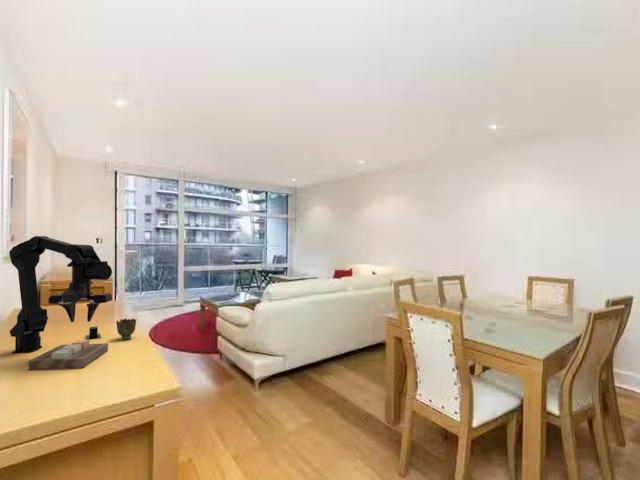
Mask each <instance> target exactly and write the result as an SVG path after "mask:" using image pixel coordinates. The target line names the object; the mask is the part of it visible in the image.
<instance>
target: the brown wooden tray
mask: <svg viewBox="0 0 640 480" xmlns="http://www.w3.org/2000/svg"><path fill="white" fill-rule="evenodd" d="M67 345H71V343H70V344H60V345H58V346H56V347H54V348H52V349H50V350H48V351H46V352H44V353H42V354H40V355H38V356H36V357H34V358H31V359H29V360H28V371H38V370H39V371H40V370H41V371H42V370H43V371H45V370H65V369H66V370H67V369H68V370H69V369H84V368H85V367H87V366H88V365H90V364H92V362H94V361H95V360H97V359H99V358H100V357H102V356H103V355H105V354H107V352H108V350H109V344H108V342H106V343H104V342H103V343H102V342H101V343H89V346H87V347H85V348H81V350H80V351H78V352H76V353H72V355H71V356H69V357H68V358H66V359H51V355H52V353H54V352H55V351H57V350H62V348H63V347H65V346H67Z"/></svg>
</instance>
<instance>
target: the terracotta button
mask: <svg viewBox="0 0 640 480" xmlns="http://www.w3.org/2000/svg"><path fill="white" fill-rule="evenodd" d="M70 344H71V345H74V344H81V348H85V347H87V346H89V344H90V340H86V339H76V340H74V341H73V342H71V343H70Z"/></svg>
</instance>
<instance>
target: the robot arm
mask: <svg viewBox="0 0 640 480" xmlns="http://www.w3.org/2000/svg"><path fill="white" fill-rule="evenodd" d="M46 250H47V251H52V252H55V253H59V254H63V255H64V256H65V258H66V259H69V260H70V262H68V263H67V265H66V267H70V268H71V282H69V285H68V288H66V289H65V290H64V291H63V292H62V293H56V294H52V295H50V296H49V297H48V299H47V300H48V302H47V303H48V304H49V305H51V304H53V305H54V304H55V305H57V304H58V306H59V307H62V308H63V309H64V310H65V311H66V313H67V315H68V318H69V321H70V322H71V323H74V322H75V319H76V308H77V307H76V305H77V303H78V302H85V301H86V302H88V303H86V307H87V317H86V318H87V322H88V323H90V322H91V320H92V318H93V317H94V314H95V313H96V310H97V308H98V307H99V306H100V304H103V303H104V304H105V303H106V304H107V303H109V302H111V301H113V295H112V294H111V292H108V293H107V292H102V293H101V292H100V293H97V294H94V295H93V291H92V284H93V283H94V282H93V281H94V280H95V281H96V280H97V281H107V280H109V279H110V278H111V277H112V274H113V270H112V267H111V266H110V265H109V264H108V263H109V262H108V261H107V260H101V259H100V257H99V255H98V254H97V252H96V251H95V249H94V246H93V245H90V244H79V243H77V244H76V243H70V242H66V241H61V240H59V239H56V238H52V237H49V236H47V235H46V236H45V235H42V236H41V235H35V236H32V237H30V239H28V240H25V241H21V242H20V243H18V244H17V245H14V246H13V247H12V248H11V249H10V250H9V254H8V255H9V259H10V263H11V265H12V266H14V267H15V269H17V272H18V273H17V275H18V283H19V293H20V302H21V308H20V311H19V312H18V314H17V317H16V323H15V325H14V326H13V327H12V328H10V330H9V334H10V337H14V338H15V343H14V344H15V345H14V346H15V348H14V349H15V350H12V351H11V354H19V353H32V352H35V351H36V350H39V349H41V348H43V345H42V343H41V342H42V341H41V340H42V339H41V338H42V336H40V333H41V332H44V331H45V328H46V326H47V324H48V320H49V317H48V310H47V309H46V308H43V307H41V305H40V300H39V291H38V282H37V281H38V280H37V273H36V268H37V266H38V264H39V263H40V261H41V260H40V257H41V255H43V254H44V253H45V252H46Z"/></svg>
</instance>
